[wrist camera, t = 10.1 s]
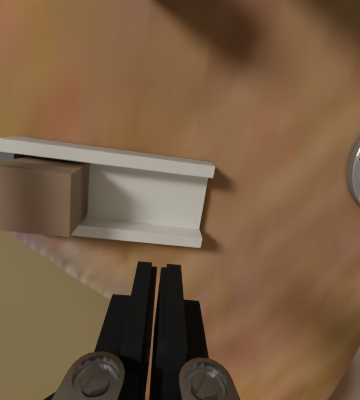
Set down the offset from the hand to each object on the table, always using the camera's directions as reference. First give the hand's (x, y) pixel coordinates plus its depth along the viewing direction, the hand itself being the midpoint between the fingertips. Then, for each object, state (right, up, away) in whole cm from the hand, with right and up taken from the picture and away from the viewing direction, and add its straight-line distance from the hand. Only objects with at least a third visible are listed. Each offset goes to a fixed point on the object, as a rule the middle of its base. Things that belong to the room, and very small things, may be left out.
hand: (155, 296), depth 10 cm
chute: (-6, +5, +19) cm, 21 cm away
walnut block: (-12, +6, +18) cm, 22 cm away
